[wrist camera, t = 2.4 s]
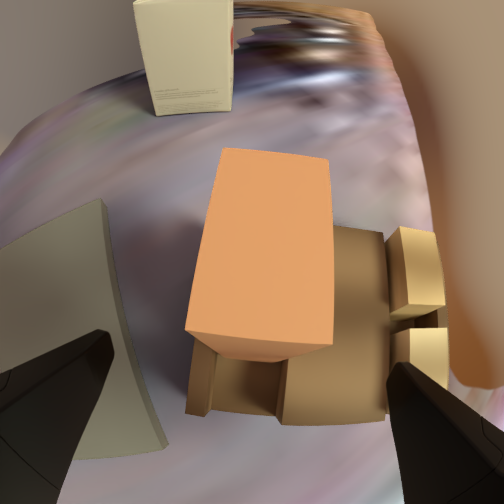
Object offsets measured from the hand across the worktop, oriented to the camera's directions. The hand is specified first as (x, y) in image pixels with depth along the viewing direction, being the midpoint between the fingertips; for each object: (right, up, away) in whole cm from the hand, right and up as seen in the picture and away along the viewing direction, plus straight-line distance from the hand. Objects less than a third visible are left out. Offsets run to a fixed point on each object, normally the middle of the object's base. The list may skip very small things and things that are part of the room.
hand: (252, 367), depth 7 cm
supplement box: (-7, +23, +22) cm, 32 cm away
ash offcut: (+10, -5, +8) cm, 14 cm away
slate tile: (-16, -3, +9) cm, 19 cm away
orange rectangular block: (0, -1, +10) cm, 10 cm away
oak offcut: (+10, +1, +11) cm, 15 cm away
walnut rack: (+4, -2, +11) cm, 12 cm away
